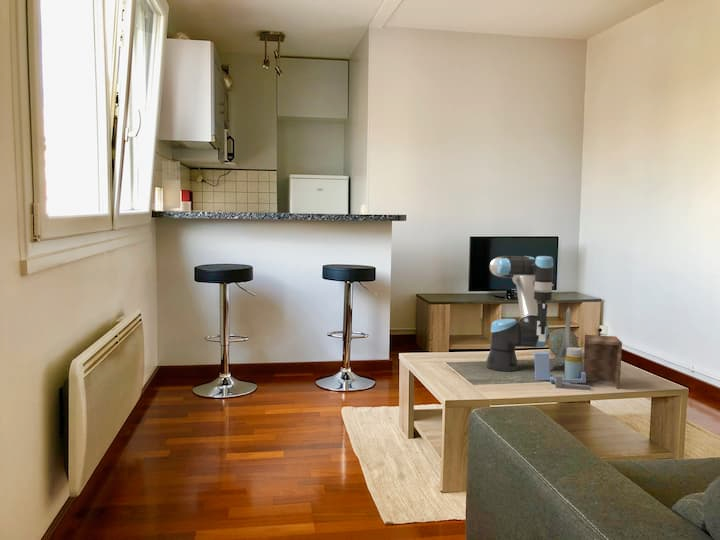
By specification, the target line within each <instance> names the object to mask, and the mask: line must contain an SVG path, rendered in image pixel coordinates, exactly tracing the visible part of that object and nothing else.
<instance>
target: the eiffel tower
mask: <svg viewBox="0 0 720 540" xmlns="http://www.w3.org/2000/svg"><path fill="white" fill-rule="evenodd" d="M571 315H572V311H571V308H570V307H567V309H566V311H565V317H566V318H565V327H564V328H565V332H564V338H563V343H562V344H561V345H562V346H561V349H560V351H559V353H558V355H557V356H556V355H555V356H554V359H553V360H552V361H551V363H549V369H550V371H552V370H554V369H555V366H561V367H562V366H565V358H566V356H567V348H568V347H572V345H573V344H571V333H570V331H571ZM582 369H583V365H582Z"/></svg>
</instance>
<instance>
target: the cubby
mask: <svg viewBox="0 0 720 540" xmlns="http://www.w3.org/2000/svg"><path fill="white" fill-rule="evenodd" d="M583 346H584V347H583V348H584V349H583V350H584V352H583V363H582V366H583V370H584V372H585V373H586V381H601V382H611V383H612V385H613V386H614V388H615V387H616V388H615V389H616V390H620V388H621V387H620V386H621V382H620V381H621V372H622V371H621V368H622V352H623V351H622V350H623V342H622V341H621V340H620V339H619V337H617V336H616V335H615V336H613V335H597V334H584V345H583Z"/></svg>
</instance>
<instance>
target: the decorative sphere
mask: <svg viewBox="0 0 720 540" xmlns="http://www.w3.org/2000/svg"><path fill="white" fill-rule="evenodd" d="M564 332H565V327H560V328H556V329H554V330H552V331H551V332H550V334H548V338H547V342H546V344H547V348H548V350H550V352H551V353H552V354H553V355H555V356H557V355H558V353H559V351H560V349H561V346H562V345H561V344H562V343H563V338H564ZM570 333H571V344H573V345H572V347H576V348H578V346H579V344H578V343H579V342H578V341H579V340H578V338H577V336H576V334H575V333H574V332H573V331H572V330H570Z"/></svg>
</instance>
